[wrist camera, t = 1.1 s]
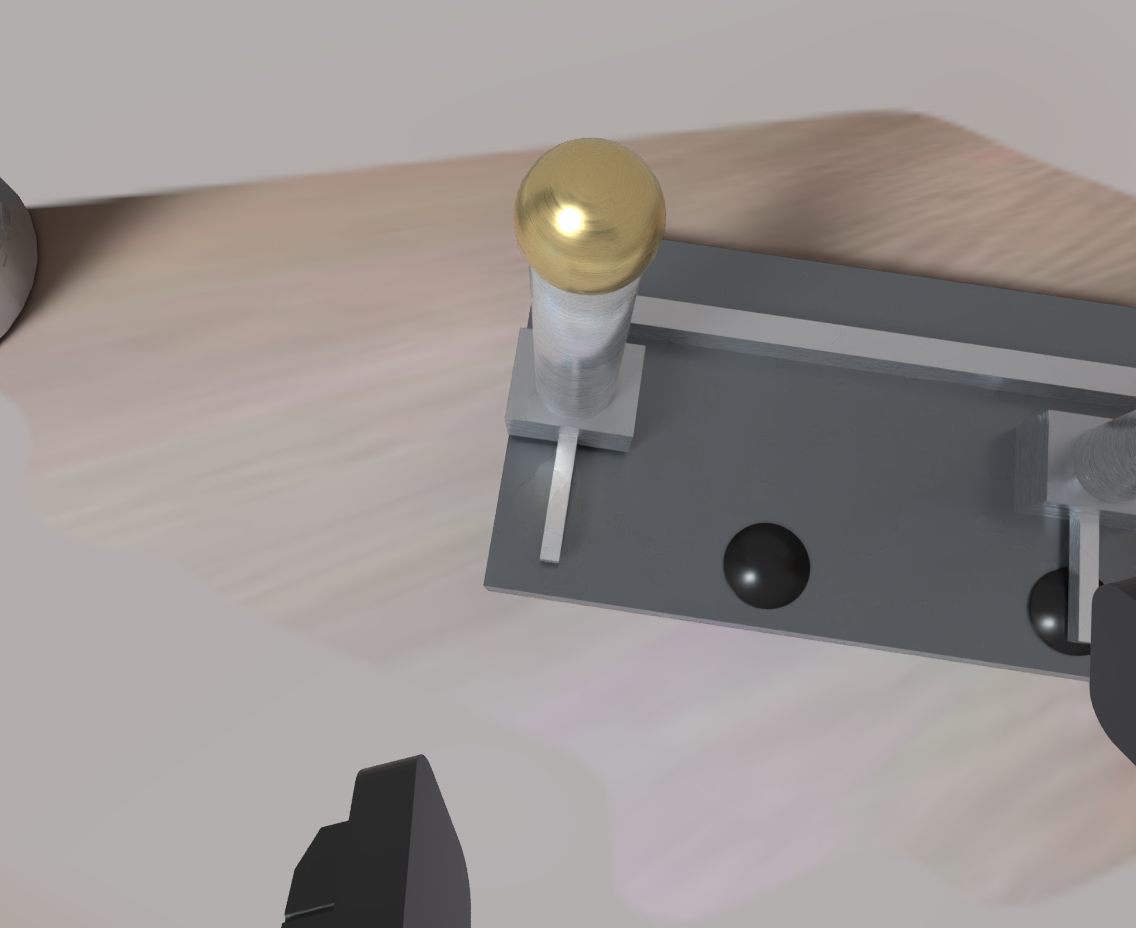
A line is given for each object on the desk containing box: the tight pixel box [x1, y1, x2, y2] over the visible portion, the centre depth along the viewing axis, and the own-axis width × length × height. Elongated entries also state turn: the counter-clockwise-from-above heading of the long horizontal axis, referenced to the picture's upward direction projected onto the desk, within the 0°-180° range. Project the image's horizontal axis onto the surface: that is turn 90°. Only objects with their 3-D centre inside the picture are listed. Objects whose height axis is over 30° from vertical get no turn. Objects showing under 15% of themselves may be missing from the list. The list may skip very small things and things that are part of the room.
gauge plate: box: [484, 240, 1136, 682], centre depth 30 cm, size 22×13×3 cm, turn 82°
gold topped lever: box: [505, 138, 666, 563], centre depth 22 cm, size 4×7×14 cm, turn 172°
